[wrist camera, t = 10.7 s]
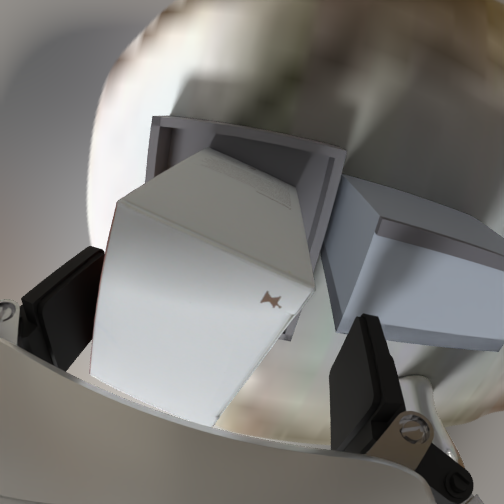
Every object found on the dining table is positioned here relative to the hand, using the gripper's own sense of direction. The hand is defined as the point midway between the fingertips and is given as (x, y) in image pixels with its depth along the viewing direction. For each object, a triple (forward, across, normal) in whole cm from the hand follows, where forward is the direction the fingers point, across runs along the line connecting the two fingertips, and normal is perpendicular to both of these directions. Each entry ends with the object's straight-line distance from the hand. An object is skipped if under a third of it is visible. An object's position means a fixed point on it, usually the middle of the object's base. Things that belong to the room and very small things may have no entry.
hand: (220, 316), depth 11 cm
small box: (+9, +2, 0) cm, 9 cm away
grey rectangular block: (+10, -9, -2) cm, 13 cm away
